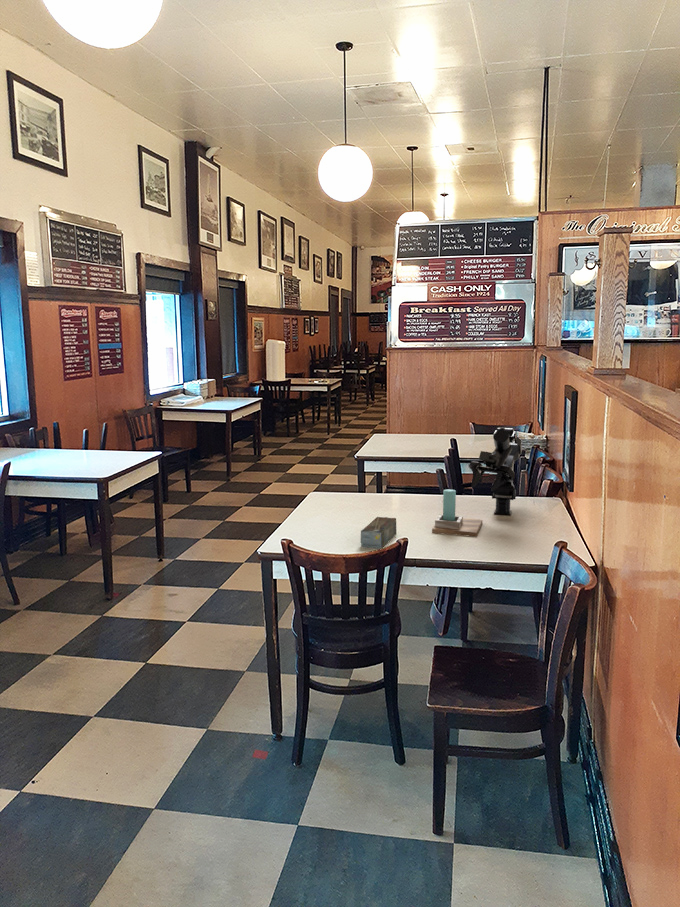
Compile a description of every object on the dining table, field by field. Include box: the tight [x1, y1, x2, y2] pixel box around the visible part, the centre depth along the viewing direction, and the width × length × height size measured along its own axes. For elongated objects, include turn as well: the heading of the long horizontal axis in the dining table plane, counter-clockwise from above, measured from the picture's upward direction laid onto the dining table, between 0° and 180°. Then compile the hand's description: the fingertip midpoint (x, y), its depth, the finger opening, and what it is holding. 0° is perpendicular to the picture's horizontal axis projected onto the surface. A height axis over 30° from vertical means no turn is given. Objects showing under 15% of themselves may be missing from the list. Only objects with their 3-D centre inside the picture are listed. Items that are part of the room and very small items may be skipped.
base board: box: [431, 514, 483, 537], centre depth 261 cm, size 18×16×4 cm
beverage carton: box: [360, 516, 397, 549], centre depth 246 cm, size 8×19×7 cm, turn 159°
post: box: [442, 489, 457, 521], centre depth 259 cm, size 4×4×13 cm
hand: (481, 488), depth 266 cm, fingers open, 9 cm apart
